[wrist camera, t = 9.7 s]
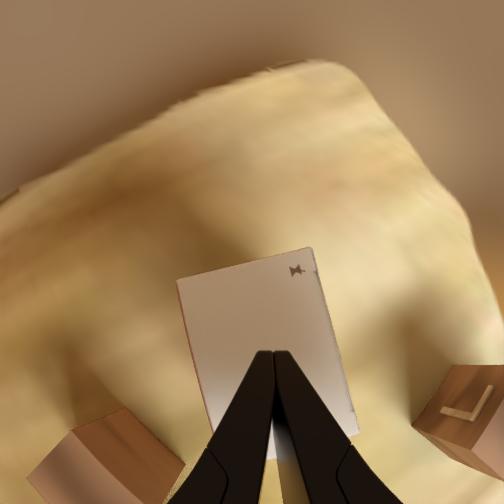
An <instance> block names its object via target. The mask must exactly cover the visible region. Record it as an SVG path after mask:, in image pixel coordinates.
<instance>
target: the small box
mask: <svg viewBox="0 0 504 504" xmlns="http://www.w3.org/2000/svg"><path fill="white" fill-rule="evenodd" d="M175 283H176V287H177V292H178V297H179V302H180V307H181V311H182V316H183V320H184V325H185V329H186V334H187V338H188V342H189V347H190V351H191V355H192V359H193V363H194V367H195V371H196V374H197V378H198V382H199V386H200V390H201V394H202V397H203V401H204V404H205V408H206V411H207V415H208V418H209V422H210V425H211V429H212V432H213V434H214V432H215V430H216V428H217V426H218V425H219V423H220V421H221V419H222V417H223V415H224V414H225V412H226V410H227V408H228V406H229V404H230V402H231V400H232V399H233V397H234V395H235V393H236V391H237V389H238V387H239V385H240V383H241V381H242V380H243V378H244V376H245V374H246V372H247V370H248V368H249V366H250V364H251V362H252V360H253V358H254V356H255V354H256V352H257V351H258V350H271V351H273V352H274V351H275V350H288V351H289V352H290V353H291V354H292V356H293V357H294V359H295V360H296V362H297V363H298V365H299V366H300V368H301V369H302V371H303V372H304V374H305V375H306V377H307V378H308V380H309V381H310V383H311V384H312V386H313V387H314V389H315V390H316V392H317V393H318V395H319V396H320V397H321V399H322V400H323V402H324V403H325V405H326V406H327V408H328V409H329V411H330V412H331V414H332V415H333V417H334V418H335V419H336V421H337V422H338V424H339V425H340V427H341V428H342V430H343V431H344V433H345V434H346V435H347V437H350V436H353V435H356V434H358V433H359V432H360V427H359V423H358V420H357V416H356V413H355V410H354V406H353V402H352V399H351V395H350V391H349V387H348V383H347V379H346V375H345V371H344V367H343V363H342V359H341V356H340V352H339V348H338V345H337V341H336V337H335V333H334V329H333V326H332V322H331V318H330V314H329V311H328V307H327V304H326V300H325V296H324V292H323V289H322V285H321V281H320V277H319V273H318V268H317V264H316V261H315V257H314V253H313V249H312V248H311V247H306V248H302V249H298V250H295V251H291V252H287V253H283V254H279V255H275V256H271V257H267V258H263V259H259V260H255V261H251V262H247V263H242V264H238V265H234V266H230V267H226V268H222V269H218V270H214V271H210V272H205V273H201V274H197V275H193V276H189V277H185V278H180V279H178V280H176V282H175ZM275 458H277V457H276V450H275V443H274V437H273V429H272V424H271V432H270V439H269V447H268V453H267V460H271V459H275ZM267 460H266V461H267Z"/></svg>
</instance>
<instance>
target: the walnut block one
mask: <svg viewBox="0 0 504 504" xmlns="http://www.w3.org/2000/svg"><path fill="white" fill-rule="evenodd" d="M185 465H186V464H185V463H184V462H182V461H181V460H180V459H179V458H178V457H177V456H176V455H174V454H173V453H172V452H171V451H170V450H169V449H168V448H167V447H166V446H164V445H163V444H162V443H161V442H160V441H159V440H158V439H157V438H156V437H155V436H154V435H153V434H152V433H151V432H150V431H149V430H148V429H147V428H146V427H145V426H144V425H143V424H142V423H141V422H140V421H139V420H138V419H137V418H136V417H135V416H134V415H133V414H132V413H131V412H130V411H129V410H128V409H127V408H124V409H122V410H119V411H117V412H115V413H112V414H110V415H108V416H105V417H103V418H100V419H98V420H96V421H93V422H91V423H88V424H86V425H83V426H81V427H78V428H76V429H73V430H71V431H70V432H69V433H68V434H67V435H66V436H65V437H64V438H63V439H62V440H61V442H60V443H59V444H58V445H57V446H56V447H55V448H54V449H53V450H52V451H51V452H50V453H49V454H48V455H47V456H46V457H45V458H44V459H43V461H42V462H41V463H40V464H39V465H38V466H37V467H36V468H35V469H34V470H33V471H32V472H31V473H30V474H29V475H28V476H27V478H26V479H27V480H28V481H29V483H30V484H31V485H32V486H33V487H34V488H35V490H36V491H37V492H38V493H39V494H40V495H41V497H42V498H43V499H44V500H45V501H46V502H47V503H48V504H162V503H163V501H164V499H165V498H166V496H167V494H168V493H169V491H170V490H171V488H172V486H173V485H174V483H175V481H176V480H177V478H178V476H179V475H180V473H181V471H182V470H183V468H184V466H185Z"/></svg>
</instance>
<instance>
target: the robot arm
mask: <svg viewBox="0 0 504 504" xmlns="http://www.w3.org/2000/svg"><path fill="white" fill-rule="evenodd" d="M271 424H272V429H273V437H274V443H275V450H276V457H277V464H278V471H279V477H280V484H281V491H282V498H283V504H403V503H402V502H401V501H400V500H399V499H398V498H397V497H396V496H395V495H394V494H393V493H392V492H391V491H390V490H389V489H388V488H387V486H386V485H385V484H384V483H383V482H382V481H381V480H380V479H379V478H378V477H377V475H376V474H375V473H374V472H373V471H372V470H371V468H370V467H369V466H368V465H367V463H366V462H365V461H364V459H363V458H362V457H361V455H360V454H359V452H358V451H357V450H356V448H355V447H354V445H351V441H350V440H349V438H348V437H347V435H346V434H345V433H344V431H343V430H342V428H341V427H340V425H339V424H338V422H337V421H336V419H335V418H334V417H333V415H332V414H331V412H330V411H329V409H328V408H327V406H326V405H325V403H324V402H323V400H322V399H321V397H320V396H319V395H318V393H317V392H316V390H315V389H314V387H313V386H312V384H311V383H310V381H309V380H308V378H307V377H306V375H305V374H304V372H303V371H302V369H301V368H300V366H299V365H298V363H297V362H296V360H295V359H294V357H293V356H292V354H291V353H290V352H289V351H288V350H275V351H274V352H273V351H271V350H258V351H257V352H256V354H255V356H254V358H253V360H252V362H251V364H250V366H249V368H248V370H247V372H246V374H245V376H244V378H243V380H242V381H241V383H240V385H239V387H238V389H237V391H236V393H235V395H234V397H233V399H232V400H231V402H230V404H229V406H228V408H227V410H226V412H225V414H224V415H223V417H222V419H221V421H220V423H219V425H218V426H217V428H216V430H215V432H214V434H213V436H212V437H211V439H210V441H209V443H208V445H207V448H205V450H204V451H203V453H202V455H201V457H200V458H199V460H198V462H197V463H196V465H195V467H194V468H193V470H192V471H191V473H190V474H189V476H188V477H187V479H186V480H185V481H184V483H183V484H182V485H181V487H180V488H179V489H178V491H177V492H176V493H175V494H174V496H173V497H172V498H171V499H170V500H169V502H168V503H167V504H260V499H261V492H262V486H263V480H264V473H265V467H266V460H267V453H268V447H269V439H270V432H271Z"/></svg>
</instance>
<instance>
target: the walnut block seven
mask: <svg viewBox="0 0 504 504" xmlns="http://www.w3.org/2000/svg"><path fill="white" fill-rule="evenodd" d="M412 427H413V428H414V429H415V430H417V431H418V432H419V433H420V434H422V435H423V436H424V437H425V438H426V439H428V440H429V441H430V442H431V443H432V444H434V445H435V446H436V447H437V448H439V449H440V450H441V451H442V452H443V453H445V454H446V455H447V456H448V457H450V458H451V459H453V460H456V461H458V462H460V463H462V464H464V465H466V466H469V467H471V468H473V469H476V470H478V471H480V472H482V473H485V474H487V475H490V476H492V477H494V478H497V479H499V480H502V481H504V365H454V366H453V368H452V369H451V371H450V373H449V374H448V376H447V377H446V379H445V380H444V382H443V383H442V385H441V386H440V388H439V389H438V391H437V392H436V394H435V395H434V396H433V398H432V399H431V401H430V402H429V404H428V405H427V406H426V408H425V409H424V410H423V412H422V413H421V414H420V416H419V417H418V418H417V420H416V421H415V422H414V424H413V425H412Z"/></svg>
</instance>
